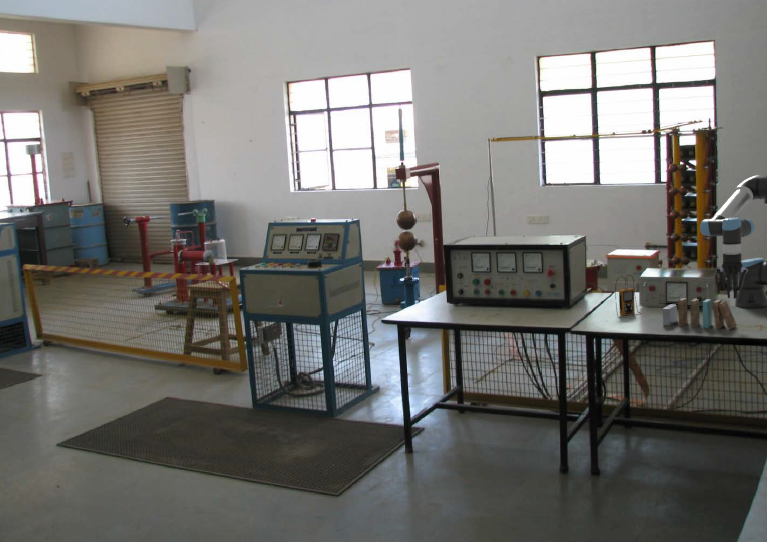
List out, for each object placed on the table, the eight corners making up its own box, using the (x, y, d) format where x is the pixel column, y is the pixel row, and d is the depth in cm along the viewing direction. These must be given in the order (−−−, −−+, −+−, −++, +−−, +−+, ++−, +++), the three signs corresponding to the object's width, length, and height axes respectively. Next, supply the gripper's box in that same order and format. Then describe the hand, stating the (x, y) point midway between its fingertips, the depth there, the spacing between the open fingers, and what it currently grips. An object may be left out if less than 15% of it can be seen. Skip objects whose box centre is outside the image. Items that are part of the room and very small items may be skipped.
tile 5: (687, 323, 368) (687, 297, 366) (683, 325, 364) (682, 300, 362) (683, 322, 369) (682, 297, 367) (678, 325, 365) (678, 300, 363)
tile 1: (736, 325, 354) (726, 300, 355) (732, 328, 349) (721, 303, 351) (732, 326, 355) (721, 301, 356) (728, 329, 351) (717, 304, 352)
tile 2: (724, 325, 358) (721, 299, 356) (720, 328, 353) (717, 302, 352) (719, 325, 359) (717, 299, 358) (715, 328, 354) (712, 302, 353)
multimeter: (626, 320, 383) (625, 279, 380) (613, 316, 393) (612, 277, 390) (651, 315, 389) (649, 275, 386) (637, 312, 398) (636, 273, 395)
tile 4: (699, 324, 365) (699, 298, 363) (695, 326, 360) (694, 301, 358) (695, 323, 366) (694, 298, 364) (690, 326, 361) (690, 300, 359)
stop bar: (677, 321, 373) (676, 304, 372) (669, 325, 366) (669, 309, 364) (670, 320, 375) (670, 304, 374) (663, 325, 367) (662, 308, 366)
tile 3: (711, 325, 361) (711, 299, 359) (707, 327, 357) (707, 301, 355) (707, 324, 362) (706, 299, 360) (703, 327, 358) (702, 301, 356)
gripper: (750, 252, 346) (750, 304, 349) (719, 251, 354) (720, 302, 358) (745, 254, 340) (745, 308, 344) (714, 254, 349) (714, 306, 352)
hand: (732, 305), depth 351 cm, fingers closed
